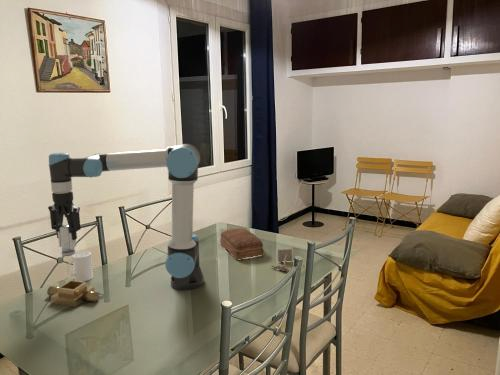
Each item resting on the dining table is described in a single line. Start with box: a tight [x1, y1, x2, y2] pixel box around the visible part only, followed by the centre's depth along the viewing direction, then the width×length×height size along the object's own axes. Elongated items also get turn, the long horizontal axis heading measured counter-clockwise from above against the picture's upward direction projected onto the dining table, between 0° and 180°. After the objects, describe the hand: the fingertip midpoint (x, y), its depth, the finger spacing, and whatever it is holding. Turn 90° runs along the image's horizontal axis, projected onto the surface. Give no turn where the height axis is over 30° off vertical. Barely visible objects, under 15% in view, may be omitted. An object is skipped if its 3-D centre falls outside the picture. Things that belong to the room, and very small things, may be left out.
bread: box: [219, 227, 265, 260], centre depth 217 cm, size 17×29×11 cm, turn 23°
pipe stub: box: [59, 224, 76, 257], centre depth 159 cm, size 5×5×12 cm
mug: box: [66, 250, 94, 282], centre depth 181 cm, size 12×8×12 cm
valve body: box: [46, 279, 101, 308], centre depth 163 cm, size 23×12×6 cm, turn 75°
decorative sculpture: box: [270, 248, 293, 272], centre depth 195 cm, size 16×10×7 cm, turn 167°
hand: (67, 246), depth 159 cm, fingers closed on pipe stub, 5 cm apart
